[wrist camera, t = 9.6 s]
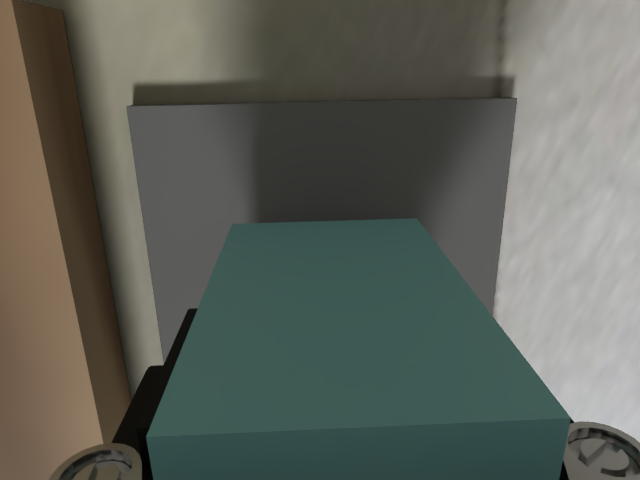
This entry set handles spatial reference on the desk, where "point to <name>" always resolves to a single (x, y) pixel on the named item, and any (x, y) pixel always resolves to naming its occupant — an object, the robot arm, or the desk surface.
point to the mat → (317, 179)
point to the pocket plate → (50, 260)
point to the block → (349, 367)
